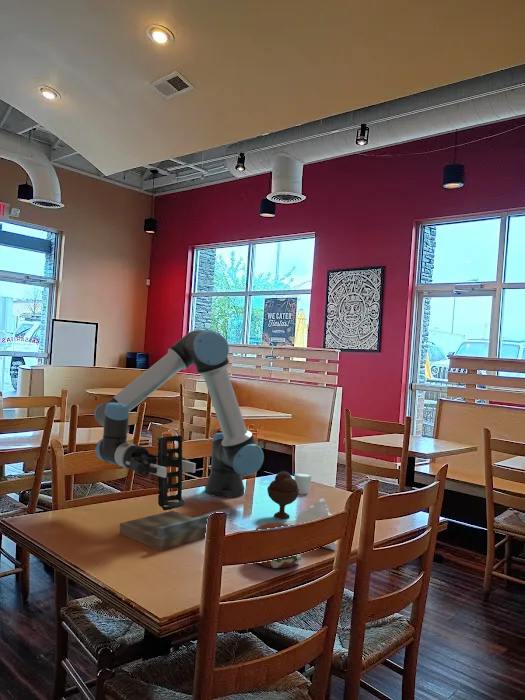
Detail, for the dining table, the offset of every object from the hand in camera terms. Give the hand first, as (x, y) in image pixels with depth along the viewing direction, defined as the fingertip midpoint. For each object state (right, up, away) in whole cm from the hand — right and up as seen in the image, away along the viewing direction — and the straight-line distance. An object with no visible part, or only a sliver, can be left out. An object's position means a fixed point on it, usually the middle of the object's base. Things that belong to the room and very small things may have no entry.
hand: (180, 470), depth 159 cm
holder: (-4, -11, +3) cm, 12 cm away
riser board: (-4, -19, +3) cm, 20 cm away
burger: (+27, -22, -13) cm, 37 cm away
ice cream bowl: (+30, -22, +27) cm, 46 cm away
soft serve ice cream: (+39, -22, +3) cm, 45 cm away
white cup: (+39, -22, +62) cm, 77 cm away
